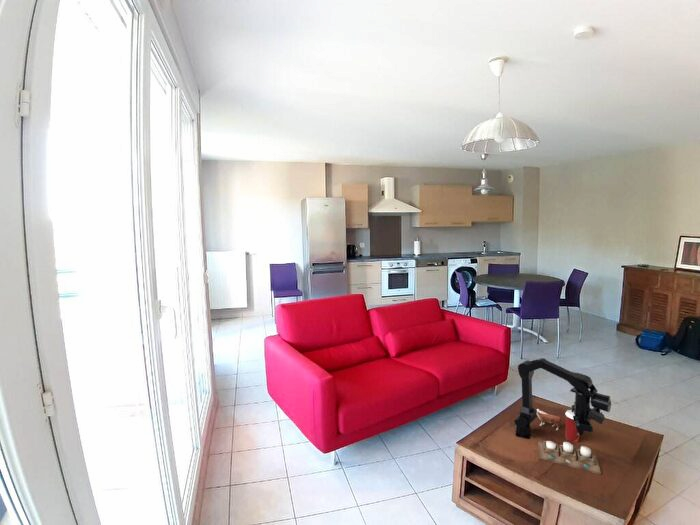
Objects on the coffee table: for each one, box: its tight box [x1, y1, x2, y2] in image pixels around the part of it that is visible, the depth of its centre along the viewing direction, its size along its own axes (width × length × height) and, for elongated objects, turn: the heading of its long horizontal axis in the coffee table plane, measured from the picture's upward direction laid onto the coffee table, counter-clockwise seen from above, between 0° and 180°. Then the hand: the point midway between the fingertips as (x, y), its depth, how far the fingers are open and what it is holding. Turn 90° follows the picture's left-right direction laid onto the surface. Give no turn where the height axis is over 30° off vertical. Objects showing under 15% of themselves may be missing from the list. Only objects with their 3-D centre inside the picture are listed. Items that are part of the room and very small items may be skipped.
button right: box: [580, 445, 592, 458], centre depth 161 cm, size 4×4×4 cm
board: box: [537, 440, 602, 476], centre depth 163 cm, size 24×12×4 cm, turn 64°
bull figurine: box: [535, 408, 563, 431], centre depth 188 cm, size 4×13×8 cm, turn 54°
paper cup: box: [564, 409, 580, 443], centre depth 177 cm, size 8×8×14 cm
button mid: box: [562, 441, 574, 454], centre depth 164 cm, size 4×4×4 cm
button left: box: [546, 440, 557, 450], centre depth 167 cm, size 4×4×4 cm
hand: (580, 435), depth 160 cm, fingers closed
